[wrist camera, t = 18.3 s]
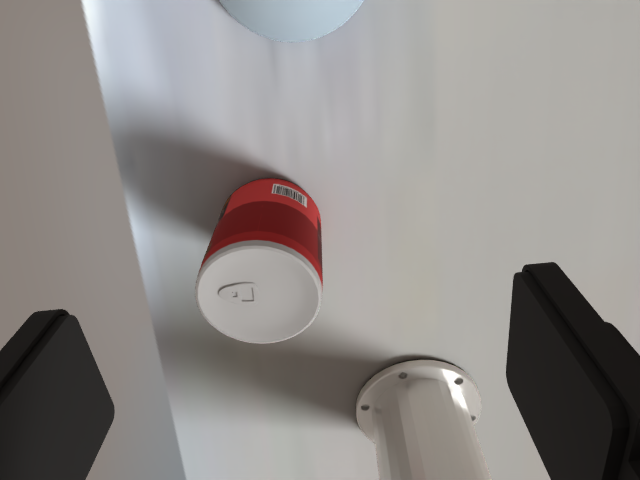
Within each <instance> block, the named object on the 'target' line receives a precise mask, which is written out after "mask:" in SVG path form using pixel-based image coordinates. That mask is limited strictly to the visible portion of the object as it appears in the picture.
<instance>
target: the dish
mask: <svg viewBox="0 0 640 480" xmlns="http://www.w3.org/2000/svg"><path fill="white" fill-rule="evenodd" d="M219 1H220V2H221V4H222V5H223V7H224V8H225V9H226V10H227V11H228V12H229V14H230V15H231V16H232V17H233V18H235V19H236V20H237V21H238V22H239V23H240V24H242V25H243V26H244V27H246V28H247V29H249V30H250V31H252V32H254V33H256V34H258V35H260V36H263V37H265V38H268V39H272V40H276V41H280V42H304V41H309V40H314V39H317V38H319V37H322V36H325V35H327V34H329V33H331V32H332V31H334V30H336V29H337V28H339V27H340V26H341V25H343V24H344V23H345V22H346V21H347V20H348V19H349V18H351V17H352V15H353V14H354V13H355V12H356V11H357V10H358V8H359V7H360V6H361V4H362V3H363V1H364V0H219Z"/></svg>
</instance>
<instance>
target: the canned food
mask: <svg viewBox="0 0 640 480" xmlns="http://www.w3.org/2000/svg"><path fill="white" fill-rule="evenodd" d="M322 284H323V279H322V243H321V219H320V214H319V211H318V208H317V206H316V204H315V203H314V201H313V200H312V198H311V197H310V196H309V195H308V194H307V193H306V192H305V191H304V190H303V189H301V188H300V187H299V186H297V185H295V184H293V183H291V182H289V181H285V180H281V179H274V178H266V179H259V180H255V181H252V182H250V183H247V184H245V185H243V186H242V187H240V188H239V189H237V190H236V191H235V192H234V193H233V194H232V195H231V196H230V197H229V198H228V200H227V201H226V203H225V205H224V207H223V210H222V212H221V215H220V218H219V220H218V223H217V225H216V228H215V230H214V233H213V236H212V238H211V241H210V243H209V246H208V249H207V251H206V254H205V256H204V259H203V261H202V264H201V268H200V270H199V273H198V277H197V281H196V287H195V298H196V301H197V305H198V308H199V310H200V311H201V313H202V315H203V317H204V318H205V319H206V320H207V321H208V323H209V324H210V325H212V326H213V327H214V328H215V329H217V330H218V331H219V332H221V333H223V334H225V335H226V336H228V337H231V338H234V339H236V340H239V341H244V342H248V343H259V344H264V343H275V342H279V341H284V340H286V339H289V338H291V337H294V336H296V335H297V334H299V333H301V332H302V331H304V330H305V329H306V328H307V327H308V326H309V325H310V324H311V323H312V322H313V320H314V319H315V317H316V316H317V314H318V311H319V309H320V305H321V299H322Z"/></svg>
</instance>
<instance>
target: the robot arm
mask: <svg viewBox="0 0 640 480" xmlns="http://www.w3.org/2000/svg"><path fill="white" fill-rule="evenodd" d="M506 378H507V383H508V386H509V389H510V391H511V393H512V396H513V398H514V400H515V402H516V404H517V407H518V409H519V411H520V413H521V415H522V417H523V420H524V422H525V424H526V426H527V428H528V431H529V433H530V435H531V437H532V439H533V442H534V444H535V446H536V448H537V450H538V452H539V455H540V457H541V459H542V461H543V463H544V466H545V468H546V470H547V472H548V474H549V476H550V479H551V480H640V356H639V354H638V353H637V352H636V351H635V350H634V348H633V347H632V346H631V345H630V344H629V343H628V341H627V340H626V339H625V338H624V337H623V335H622V334H621V333H620V332H619V331H618V329H617V328H615V327H614V326H613V325H612V324H610V323H608V322H604V321H603V320H602V318H601V317H600V316H599V315H598V313H597V312H596V311H595V310H594V309H593V307H592V306H591V305H590V304H589V302H588V301H587V300H586V299H585V298H584V296H583V295H582V294H581V293H580V292H579V290H578V289H577V288H576V287H575V285H574V284H573V283H572V282H571V281H570V279H569V278H568V277H567V276H566V275H565V273H564V272H563V271H562V270H561V268H560V267H559V266H558V265H557V264H556V263H554V262H549V263H539V264H529V265H525V266H524V267H523V269H522V272H518V273H515V275H514V279H513V290H512V303H511V315H510V328H509V340H508V353H507V365H506ZM481 406H482V402H481V397H480V393H479V391H478V388H477V386H476V384H475V383H474V381H473V380H472V378H471V377H470V376H469V375H468V374H467V373H465V372H464V371H463V370H461V369H459V368H458V367H456V366H454V365H451V364H448V363H445V362H440V361H435V360H414V361H407V362H403V363H399V364H395V365H393V366H391V367H388V368H386V369H384V370H382V371H381V372H379V373H377V374H376V375H374V376H373V377H372V378H371V379H370V380H369V381H368V382H367V383H366V384H365V385H364V387H363V388H362V389H361V391H360V393H359V395H358V398H357V403H356V417H357V421H358V425H359V427H360V429H361V431H362V432H363V434H364V435H365V436H366V437H367V438H368V439H369V440H371V441H372V442H373V443H375V447H376V455H377V463H378V472H379V480H492V478H491V475H490V472H489V469H488V466H487V463H486V461H485V458H484V455H483V452H482V449H481V446H480V443H479V440H478V437H477V434H476V431H475V428H474V425H475V424H476V422H477V421H478V419H479V416H480V413H481ZM113 419H114V405H113V402H112V400H111V397H110V395H109V393H108V390H107V388H106V385H105V383H104V381H103V378H102V376H101V374H100V371H99V369H98V367H97V364H96V362H95V360H94V357H93V355H92V353H91V350H90V348H89V345H88V343H87V341H86V338H85V336H84V334H83V332H82V329H81V327H80V325H79V322H78V320H77V318H76V317H75V316H73V315H69V313H68V312H67V311H66V310H63V309H58V310H48V311H38V312H35V313H33V314H32V315H31V316H30V317H29V318H28V319H27V320H26V322H25V323H24V324H23V325H22V326H21V327H20V329H19V330H18V331H17V332H16V333H15V334H14V336H13V337H12V338H11V339H10V340H9V341H8V343H7V344H6V345H5V346H4V347H3V348H2V350H1V351H0V480H85V479H86V477H87V475H88V473H89V471H90V469H91V467H92V464H93V462H94V460H95V458H96V456H97V454H98V452H99V450H100V448H101V445H102V443H103V441H104V439H105V437H106V435H107V432H108V430H109V428H110V426H111V424H112V422H113Z"/></svg>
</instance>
